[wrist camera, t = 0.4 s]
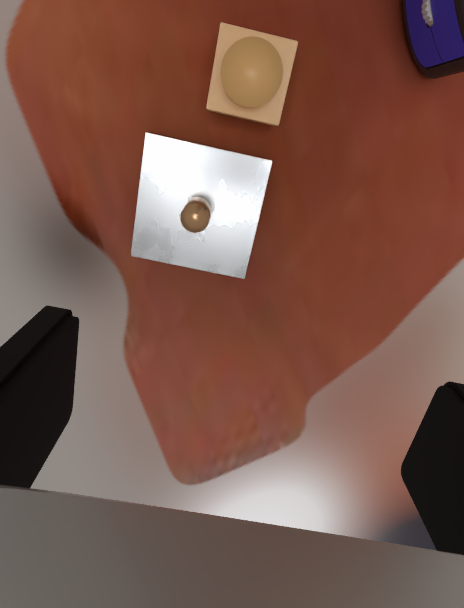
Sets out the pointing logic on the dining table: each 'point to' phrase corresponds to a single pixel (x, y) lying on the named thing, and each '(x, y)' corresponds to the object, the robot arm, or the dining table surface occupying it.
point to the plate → (198, 179)
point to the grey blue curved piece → (436, 35)
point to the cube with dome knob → (250, 74)
